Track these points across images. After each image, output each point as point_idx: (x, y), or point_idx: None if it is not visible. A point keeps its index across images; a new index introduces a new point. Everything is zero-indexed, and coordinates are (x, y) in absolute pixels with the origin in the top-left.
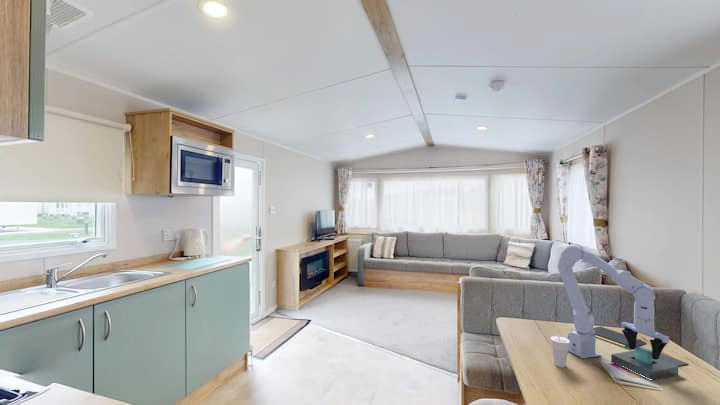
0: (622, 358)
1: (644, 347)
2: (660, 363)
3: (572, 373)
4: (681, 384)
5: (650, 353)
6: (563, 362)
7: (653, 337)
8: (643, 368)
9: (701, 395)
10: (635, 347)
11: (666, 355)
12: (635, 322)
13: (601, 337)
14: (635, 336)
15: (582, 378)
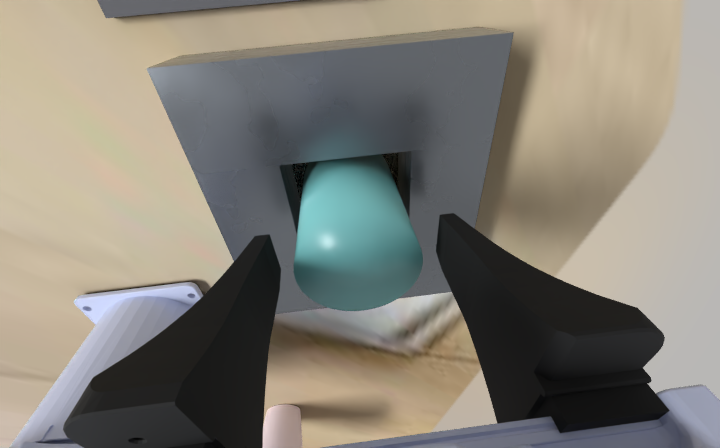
0: (313, 302)
1: (320, 228)
2: (422, 142)
3: (337, 407)
4: (537, 148)
5: (420, 265)
6: (301, 430)
7: (521, 439)
8: (428, 290)
9: (626, 158)
10: (311, 294)
11: None
12: None
13: None
14: (234, 339)
15: (366, 401)
